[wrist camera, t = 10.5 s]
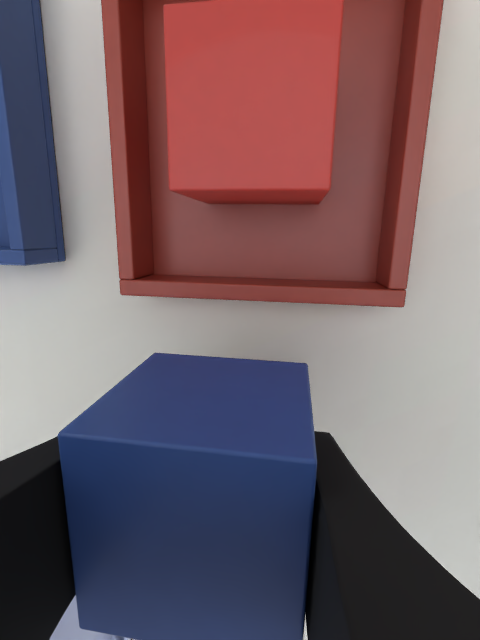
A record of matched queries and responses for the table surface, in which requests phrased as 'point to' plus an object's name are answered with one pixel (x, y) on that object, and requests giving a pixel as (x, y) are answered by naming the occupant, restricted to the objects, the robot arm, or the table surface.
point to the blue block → (193, 501)
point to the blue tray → (26, 143)
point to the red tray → (278, 219)
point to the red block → (252, 99)
